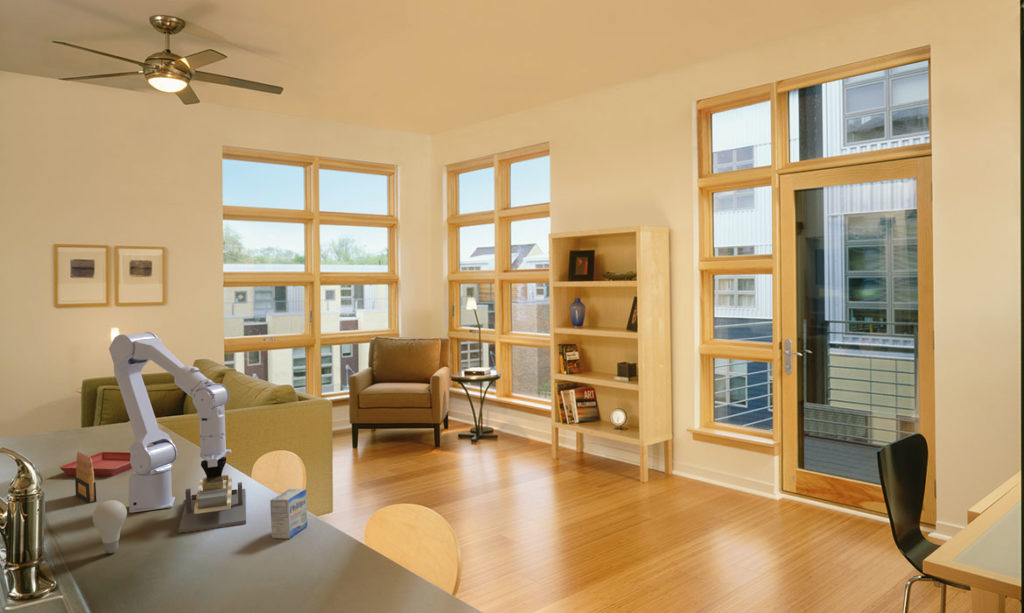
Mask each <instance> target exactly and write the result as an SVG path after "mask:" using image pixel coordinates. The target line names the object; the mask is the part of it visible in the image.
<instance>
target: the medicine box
mask: <svg viewBox="0 0 1024 613" xmlns="http://www.w3.org/2000/svg"><path fill="white" fill-rule="evenodd" d="M307 498H308V497H307V490H306V489H305V488H288V489H287V490H285V491H284V492H282V493H280V494H279V495H277V496H276V497H274V498H272V499H270V501H269V502H270V504H269V505H270V525H271V526H270V527H271V528H270V529H271V530H270V531H271V538H273V539H283V540H284V539H285V540H287V539H288V540H290V539H293V537H294V536H296V535H297V534H299V533H300V532H301V531H302V530H304V529H306V527H308V501H307Z"/></svg>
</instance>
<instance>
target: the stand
mask: <svg viewBox="0 0 1024 613" xmlns="http://www.w3.org/2000/svg"><path fill="white" fill-rule="evenodd" d="M191 489H192V488H185V504H184V508H183V513H182V515H181V520H180V523H179V527H178V534H182V533H181V532H186V533H190V532H189V531H193V532H197V531H196V530H200V531H205V530H204V529H207V530H213V529H219V528H218V527H220V528H226V527H225V526H227V527H233V526H232V525H234V526H240V525H246V524H247V502H246V500H247V499H246V496H247V495H246V492H247V491H246V488H243V482H242V481H239V482H237V494H235V495H232V493H231V509H227V510H219V511H212V512H205V513H198V514H194V506H195V501H196V500H192V494H191V492H192V491H191ZM212 528H213V529H212Z"/></svg>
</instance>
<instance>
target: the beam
mask: <svg viewBox="0 0 1024 613" xmlns="http://www.w3.org/2000/svg"><path fill="white" fill-rule="evenodd" d="M221 476H223V486H224V488H220V489H213V490H205V491H203V487H202V484H203V479H199V483H198V487H197V493H196V494H191V496H192V500H196V501H195V506H194V514H198V513H205V512H212V511H219V510H227V509H231V493H232V495H235V494H237V490H238V488H237V489H233V475H229V474H224V475H223V474H222V475H221ZM204 478H207V476H205V477H204Z"/></svg>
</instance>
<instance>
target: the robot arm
mask: <svg viewBox="0 0 1024 613" xmlns="http://www.w3.org/2000/svg"><path fill="white" fill-rule="evenodd" d="M108 349H109V353H110V356H111V360H112V362H113V363H112V364H113V373H114V377H115V378H116V379H115V380H116V381H117V382H116V383H117V385H118V388H119V390H120V394H121V396H122V400H123V403H124V404H123V405H124V406H125V409H126V413H127V415H128V416H127V417H128V418H129V421H130V424H131V427H132V430H133V434H134V440H132V442H131V444H130V445H129V447H128V450H129V452H130V454H131V457H130V463H131V466H132V469H133V471H134V472H133V473H130V474H129V477H128V507H129V508H128V509H129V511H128V513H138V512H146V511H153V510H160V509H161V510H162V509H169V508H173V506H174V503H175V500H176V496H173V494H172V492H173V491H172V490H173V489H172V488H173V487H172V468H173V467H174V463H175V461H176V460H177V458H178V449H177V446H176V445H175V443H174V442H173V441H172V439H171V437H170V435H169V434H168V433H166V432H165V431H163V430H161V429H160V428H159V425H158V421H157V418H156V415H155V413H154V409H153V407H152V403H151V400H150V396H149V393H148V390H147V387H146V385H145V382H144V379H143V376H142V370H143V368H144V367H145V366H146V365H147V364H148V363H149V362H150V361H152V362H153V363H154V364H156V365H157V366H159V368H162V369H163V370H164V371H166V372H167V373H169V374H170V375H171V376H173V377H174V384H175V385H176V386H177V387H178V388H179V389H181V390H182V391H183V392H184V393H185V394H187V395H188V396H189V397H191V399H192V404H193V406H194V408H195V409H196V412H197V416H198V418H199V420H198V422H199V448H200V453H199V458H201V459H203V460H201V461H200V467H201V468H202V470H203V472H204V474H205V477H215V476H222V475H223V470H224V467H225V465H226V464H227V457H226V455H229V454H232V449H230V448H229V449H227V445H226V443H227V441H226V440H227V439H226V414H225V405H226V406H227V405H228V403H229V400H230V392H229V390H228V389H227V386H225V385H224V384H223V383H215V382H213V380H212V379H209V378H208V377H206V375H204V374H203V373H201V372H200V368H199V367H197V366H193V365H189V366H185V364H183V362H182V361H180V360H179V359H178V358H177V357H176V356H175V355H174V354H173V353H172V352H171V351H170V350H169V349H168V348H167V347H166V346H165V345H164V344H163V339H162V338H160V337H158V335H156V333H154V332H151V331H146V332H142V333H140V332H139V333H132V334H118V335H117V336H115V337H114V338H113V340H112V341H111V344H110V346H109V348H108Z"/></svg>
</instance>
